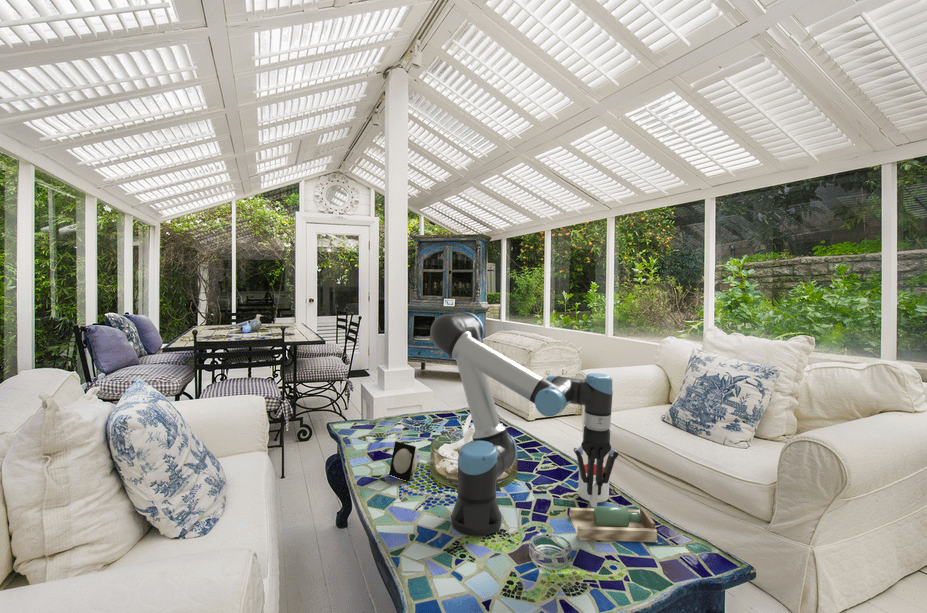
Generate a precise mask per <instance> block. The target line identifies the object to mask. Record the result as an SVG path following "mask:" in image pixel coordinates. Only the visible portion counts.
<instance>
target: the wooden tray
mask: <svg viewBox="0 0 927 613" xmlns="http://www.w3.org/2000/svg"><path fill="white" fill-rule="evenodd" d="M627 510H628V512H630V513H637V512H640V513H641V515H642V523H638V522H629V526H628V527H611V526H596V524H595V521H594V507H591V508H589V507H588V508H587V507H569V513H568V515H569V518H570V521H571V522H572V526H573V527H574V530H575V533H576V535H577V537H578V540H579V541H580V540H581V541H607V542H608V541H609V542H611V541H612V542H636V543H637V542H640V543H644V542H645V543H659V541H658V531H657V529H656V523H655V522H656V521H654V519H652V516H650V514H649V513H648V512H647V510H646V509H645V508H644V507H639V509H629V508H627Z"/></svg>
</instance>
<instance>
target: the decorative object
mask: <svg viewBox="0 0 927 613" xmlns="http://www.w3.org/2000/svg"><path fill="white" fill-rule="evenodd" d="M392 450H393V451H392V456H391V461H390V466H389V467H390V468H389V472H388V476H389V475H392V476H395V477H397V478H400V479H403V480H406V481H409V483H410V481H411V475H412V474H414V473H416V469H417V467H418V459H417V457H418V454H417V447H416V446H415V445H413V444H412V445H411V444H407V443H403V442H400V441H396V440H395V441H394V446H393V449H392ZM411 473H412V474H411Z"/></svg>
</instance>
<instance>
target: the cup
mask: <svg viewBox="0 0 927 613" xmlns="http://www.w3.org/2000/svg"><path fill="white" fill-rule="evenodd" d="M584 467H585V472H586V477H587V468H588V463H585V464H584ZM604 468H605V466H604V465H603V472H604ZM602 475H603V473H602ZM593 482H596V464H595V463H594V476H593ZM577 488H578V489H577V493H578V496H579V497H580V498H581V499H583V500H585V501H587V502H590V495H588V493H587V483H584V482H583V480H582V479H581V475H580V470H579V469H578V487H577ZM609 498H610V480H609V481H608V483H603V486H601V495H598V497H597V503H604V502H607V501H608V500H609Z"/></svg>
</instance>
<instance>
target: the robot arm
mask: <svg viewBox="0 0 927 613" xmlns="http://www.w3.org/2000/svg"><path fill="white" fill-rule="evenodd" d="M484 333H485V329H484V325H483V322H482V320H481V319H480V318H479V317H478V316H477V315H476V314H474V313H472V312H465V311H460V312H455V313H447V314H442V315H440V316H438V317H437V318H436V319H435V320H434V321H433V322H432V324H431V326H430V333H429V335H430V339H431V342H432V343H433V345H434V346H435V348H437V349H438V350H439V351H441V353H443V354H444V355H446V356H448V357H450V358H452V359H453V360H455V361H456V364H457V368H458V372H459V376H460V379H461V383H462V386H463V387H462V388H463V390H464V394H465V397H466V402H467V405H468V408H469V414H470V415H471V417H470V418H471V419H472V424H473V428H474V432H473V434H472V435H471V437H472V441H468V442H466V443H464V444H463V445H462V446H461V447H460V448H459V451H458V455H457V456H458V457H457V497H456V500H455V503H454V507H453V509H452V513H451V521H450V522H451V526H452V528H453V529H454V530H455V531H456V532H459V533H460V534H462V535H466V536H468V537H469V536H471V537H484V536H490V535H493V534H495V533H497V531H499V530H500V529H501V526H502V513H501V511H500V507H499V504H498V503H499V502H498V501H497V480H498V478H499V477H500V476H501V475H503V474H504V472H506V471H507V470H508V469H510V468H511V466H512V465H513V464H514V462H515V460H516V459H517V455H518V448H517V447H518V446H517V442H516V440H515V438H514V437H513V436H512V435H510V434H509V433H508V430H507V427H506V426H505V424H504V425H503V424H502V423H501V422H500V418H499V415H498V410H497V408H496V404H495V401H494V396H493V393H492V390H491V385H490V382H489V379H488V377H490V378H491V379H493V381H496V382H498V383H500V384H501V385H503V386H505V387H506V388H508V389H509V390H511V391H513V392H514V393H516V394H518V395H519V396H521V397H522V398H525V399H526V400H528V402H531V403H532V404H534V405H535V408H536V409H537V411H538V412H539V414H541V415H542V416H544V417H554V416H557V415H558V414H560V413H561V412H563V411H564V410H565V408H566V407H567V406H569V404H573V405H578V406H584V418H583V424H584V426H583V437H582V439H583V440H582V442H581V446H579V447H577V448H576V447H574V448H573V452H574V454H575V455H576V459H577V464H578V471H579V470H580V475H581V479H582V480H583V482H584V483H587V493H588V495H590V501H589V504H590V506H591V508H594V507H597V506H598V502H597V497H598V495H601V486H603V483H608V481H609V482H610V477H611V474H612V470H613V467H614V464H615V461H616V460H617V458H618V457H619V456H620V455H619V454H620V453H619V452H618V451H617V450H616V449H615V448H612V445H611V429H610V428H611V426H612V425H611V423H612V408H613V407H612V406H613V405H612V404H613V394H614V393H613V392H614V391H613V378H612V376H610V375H609V374H605V373H599V372H598V373H594V372H593V373H588V374H586V376H585V379H581V378H573V377H566V376H561V375H557V376H556V375H548V376H547V377H546V378H544V377H543V376H541V375H540V374H537V373H535V372H534V371H532V370H530V369H528V368H527V367H525V366H523V365H522V364H520V363H519V362H516V361H515V360H513V359H511V358H510V357H507V356H506V355H504V354H502V353H501V352H499V351H498V350H496V349H494V348H492V347H490V346H488V345H487V344H485V343H483V337H484ZM583 451H584V452H583ZM584 453H585V455H586V456H587V464H588V468H587V477H586V472H585V467H584V459H583V455H584ZM607 454H608V456H607ZM606 456H607V459H606V463H605V462H604V460H605V457H606ZM595 461H596V462H595ZM595 463H596V482H593V476H594V464H595ZM604 463H605V466H604ZM603 466H604V467H605V468H604V472H603ZM602 473H603V475H602Z"/></svg>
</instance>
